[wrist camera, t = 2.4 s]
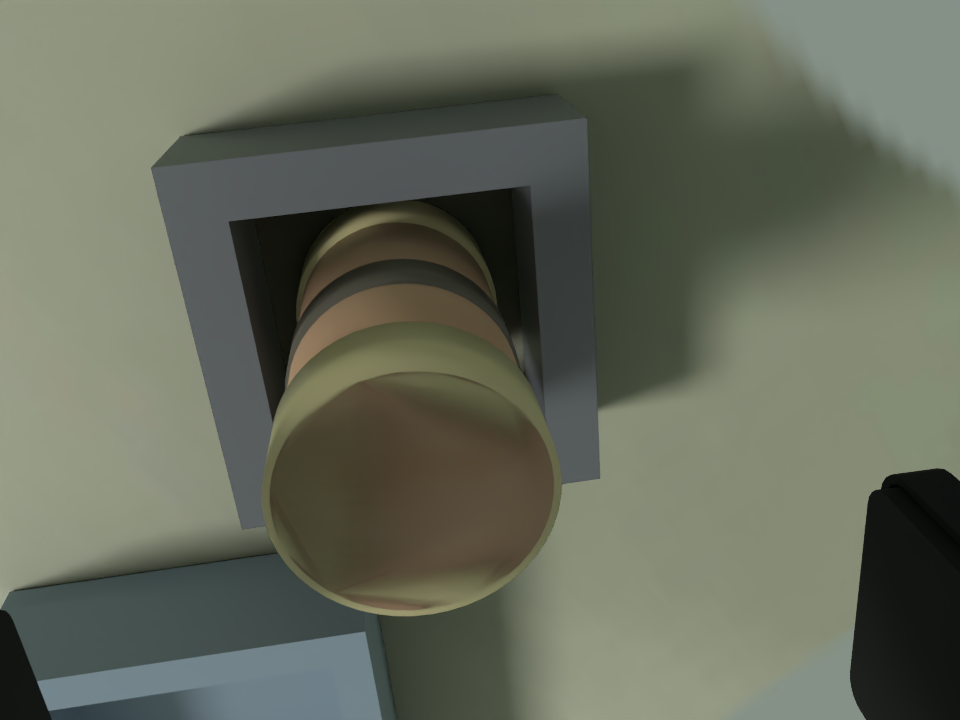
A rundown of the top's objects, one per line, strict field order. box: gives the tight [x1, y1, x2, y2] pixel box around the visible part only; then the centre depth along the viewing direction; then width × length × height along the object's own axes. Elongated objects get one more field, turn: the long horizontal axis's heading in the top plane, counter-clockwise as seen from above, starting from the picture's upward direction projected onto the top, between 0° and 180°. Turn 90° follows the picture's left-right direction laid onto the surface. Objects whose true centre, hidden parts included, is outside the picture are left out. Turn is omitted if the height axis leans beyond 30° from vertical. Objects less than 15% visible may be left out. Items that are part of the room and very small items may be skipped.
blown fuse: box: [261, 200, 562, 616], centre depth 15 cm, size 4×4×8 cm
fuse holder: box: [151, 94, 600, 529], centre depth 17 cm, size 7×7×2 cm
